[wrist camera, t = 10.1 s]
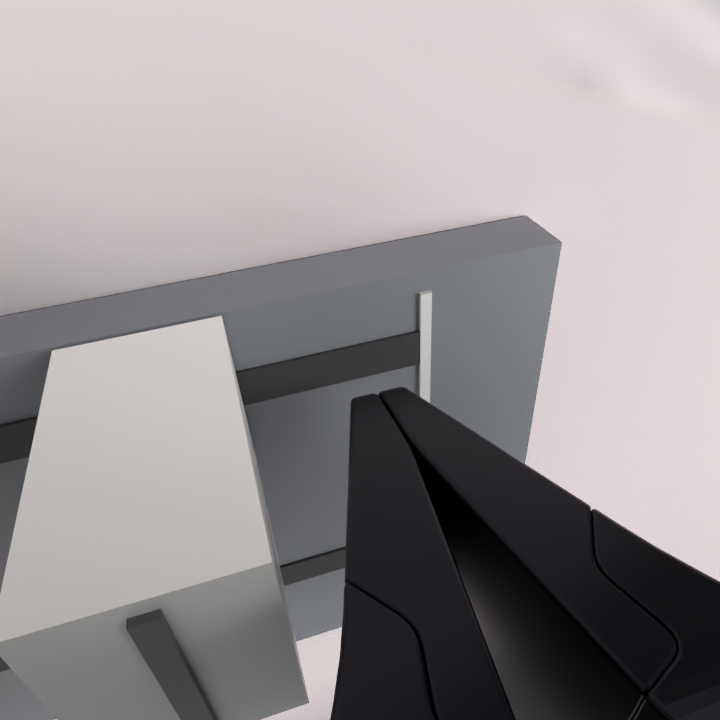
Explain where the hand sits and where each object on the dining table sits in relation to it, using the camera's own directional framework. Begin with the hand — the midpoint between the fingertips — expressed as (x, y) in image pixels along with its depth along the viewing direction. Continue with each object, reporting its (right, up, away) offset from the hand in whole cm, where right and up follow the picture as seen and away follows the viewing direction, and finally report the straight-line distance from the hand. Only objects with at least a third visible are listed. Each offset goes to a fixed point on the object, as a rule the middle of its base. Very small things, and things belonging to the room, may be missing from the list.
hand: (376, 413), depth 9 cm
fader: (-3, 0, 0) cm, 3 cm away
